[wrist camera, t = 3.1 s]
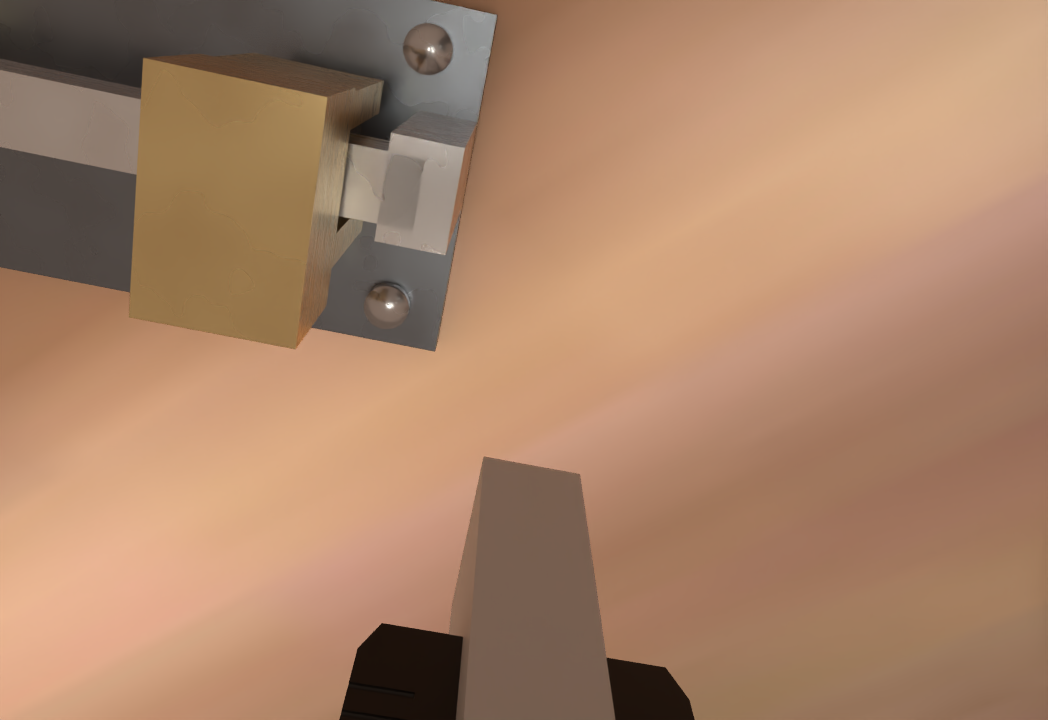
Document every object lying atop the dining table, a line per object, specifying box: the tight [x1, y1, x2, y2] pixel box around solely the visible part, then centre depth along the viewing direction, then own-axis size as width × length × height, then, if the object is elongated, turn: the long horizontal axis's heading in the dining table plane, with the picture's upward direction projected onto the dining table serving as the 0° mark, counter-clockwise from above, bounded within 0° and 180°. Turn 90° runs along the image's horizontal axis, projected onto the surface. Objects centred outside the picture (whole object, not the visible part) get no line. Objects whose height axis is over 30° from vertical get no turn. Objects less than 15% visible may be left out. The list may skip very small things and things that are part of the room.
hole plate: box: [0, 0, 498, 351], centre depth 30 cm, size 12×30×2 cm, turn 78°
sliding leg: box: [129, 53, 384, 349], centre depth 25 cm, size 7×4×10 cm, turn 168°
